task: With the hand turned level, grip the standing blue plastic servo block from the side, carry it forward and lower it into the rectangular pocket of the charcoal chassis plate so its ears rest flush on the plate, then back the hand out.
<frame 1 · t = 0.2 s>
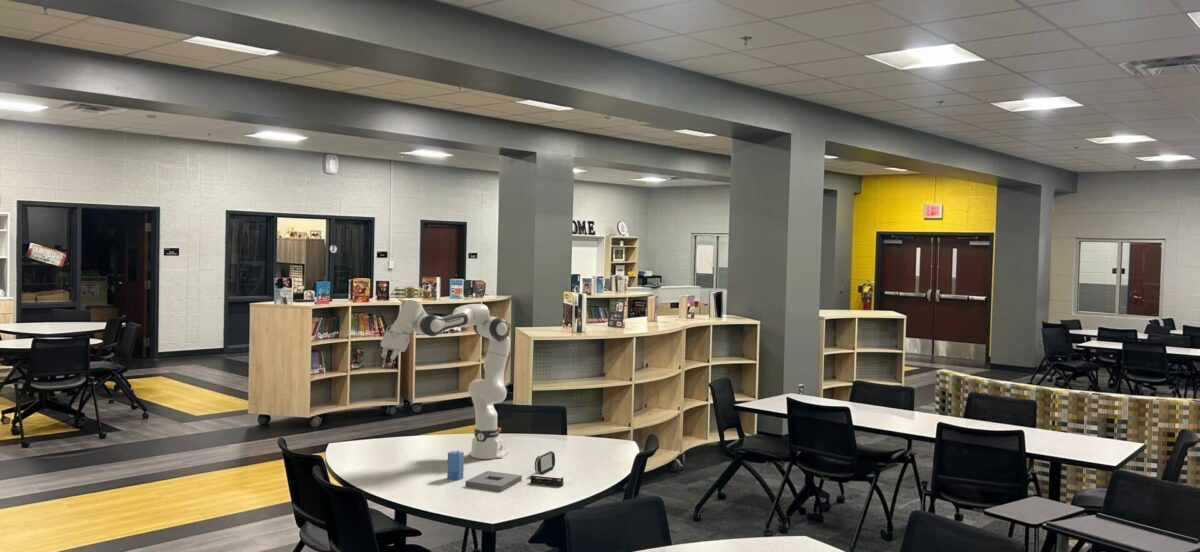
hand: (387, 358, 387), 54 cm above the table, tool tilted 30°, fingers open, 8 cm apart
servo: (455, 478, 381), on the table
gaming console: (544, 472, 397), on the table
chassis plate: (494, 483, 374), on the table
black flat block: (550, 487, 374), on the table
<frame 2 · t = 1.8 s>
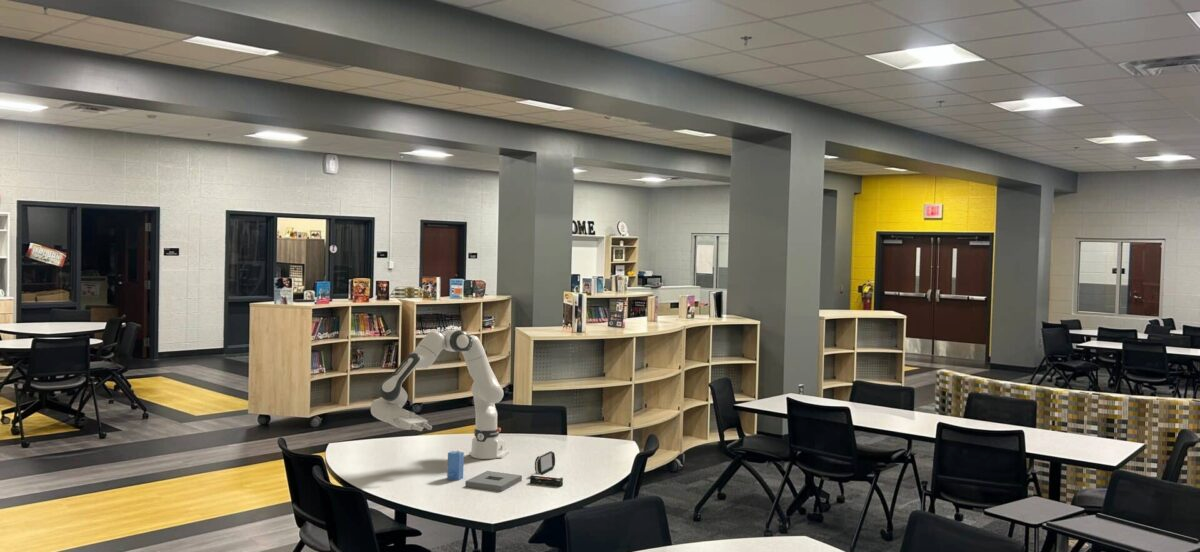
hand: (426, 429, 386), 21 cm above the table, tool tilted 75°, fingers open, 8 cm apart
nothing on the table moved.
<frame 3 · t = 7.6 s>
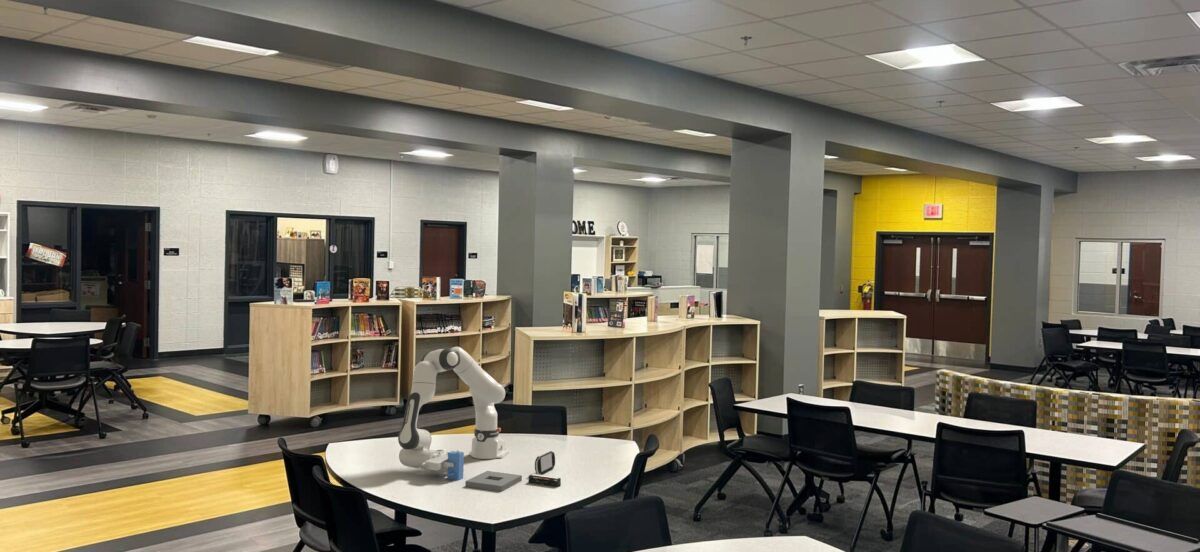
hand: (457, 463, 380), 7 cm above the table, tool horizontal, fingers closed on servo, 4 cm apart
servo: (455, 478, 381), on the table, touching gripper
black flat block: (547, 487, 374), on the table
everything else where it was.
when the fingers open (8 cm above the table, at t = 12.6 s): servo drops 1 cm, resting on chassis plate.
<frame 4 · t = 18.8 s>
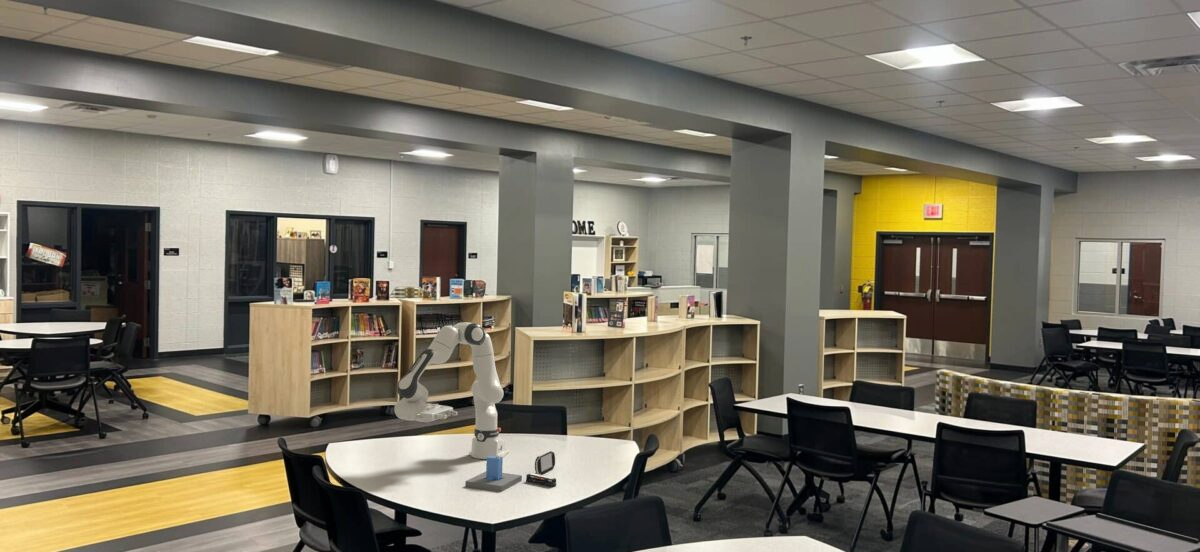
hand: (451, 415, 386), 28 cm above the table, tool horizontal, fingers open, 8 cm apart
servo: (493, 483, 374), resting on chassis plate
black flat block: (543, 486, 374), on the table
everything else where it was.
at the end: servo 0.0 cm off-centre on the chassis plate, point 0.0 cm above the chassis plate's base; servo tilted 0°; the gripper is holding nothing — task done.
